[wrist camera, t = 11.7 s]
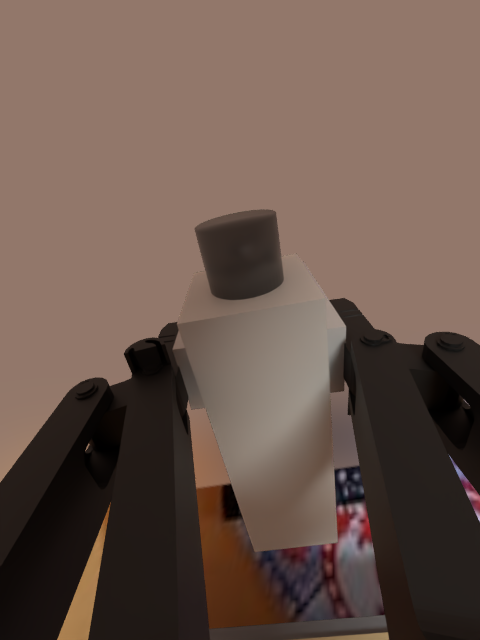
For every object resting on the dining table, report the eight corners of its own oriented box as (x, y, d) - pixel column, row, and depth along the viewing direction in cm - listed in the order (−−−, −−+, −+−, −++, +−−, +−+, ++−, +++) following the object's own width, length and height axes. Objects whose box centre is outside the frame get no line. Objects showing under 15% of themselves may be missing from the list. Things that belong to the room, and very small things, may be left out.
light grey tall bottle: (316, 465, 17) (291, 197, 10) (337, 542, 14) (321, 219, 7) (250, 473, 18) (179, 220, 10) (254, 551, 14) (152, 252, 7)
